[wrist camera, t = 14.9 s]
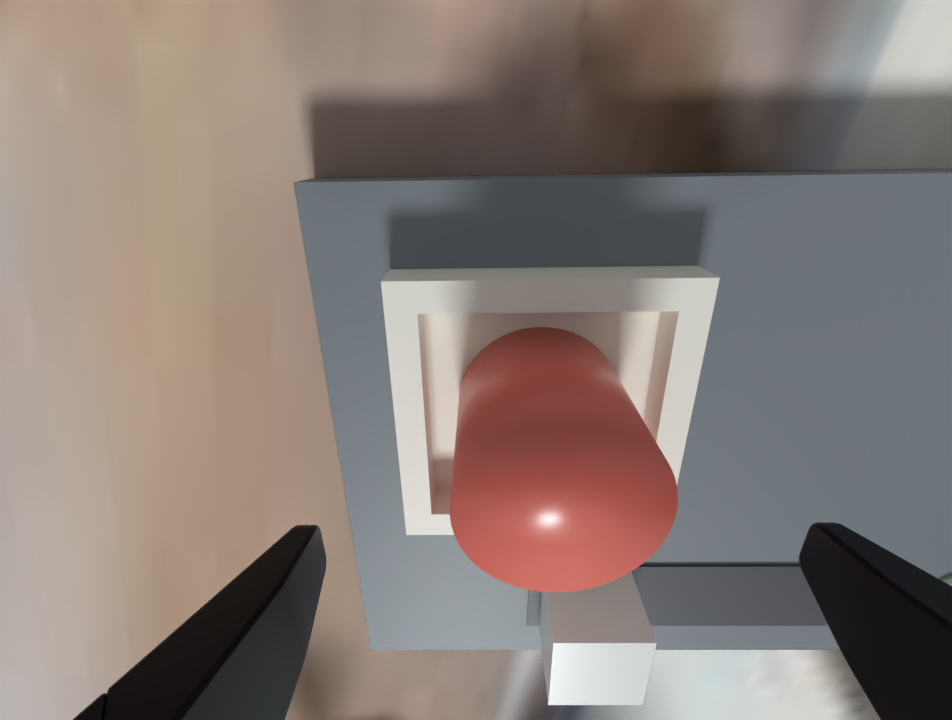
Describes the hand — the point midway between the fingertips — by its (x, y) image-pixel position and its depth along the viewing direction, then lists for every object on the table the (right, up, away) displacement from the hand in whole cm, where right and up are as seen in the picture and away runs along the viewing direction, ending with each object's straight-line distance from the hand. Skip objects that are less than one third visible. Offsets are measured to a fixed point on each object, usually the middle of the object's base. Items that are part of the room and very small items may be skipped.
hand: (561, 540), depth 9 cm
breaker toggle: (+2, -5, +8) cm, 10 cm away
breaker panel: (+6, +1, +7) cm, 9 cm away
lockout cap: (0, +2, +5) cm, 5 cm away
